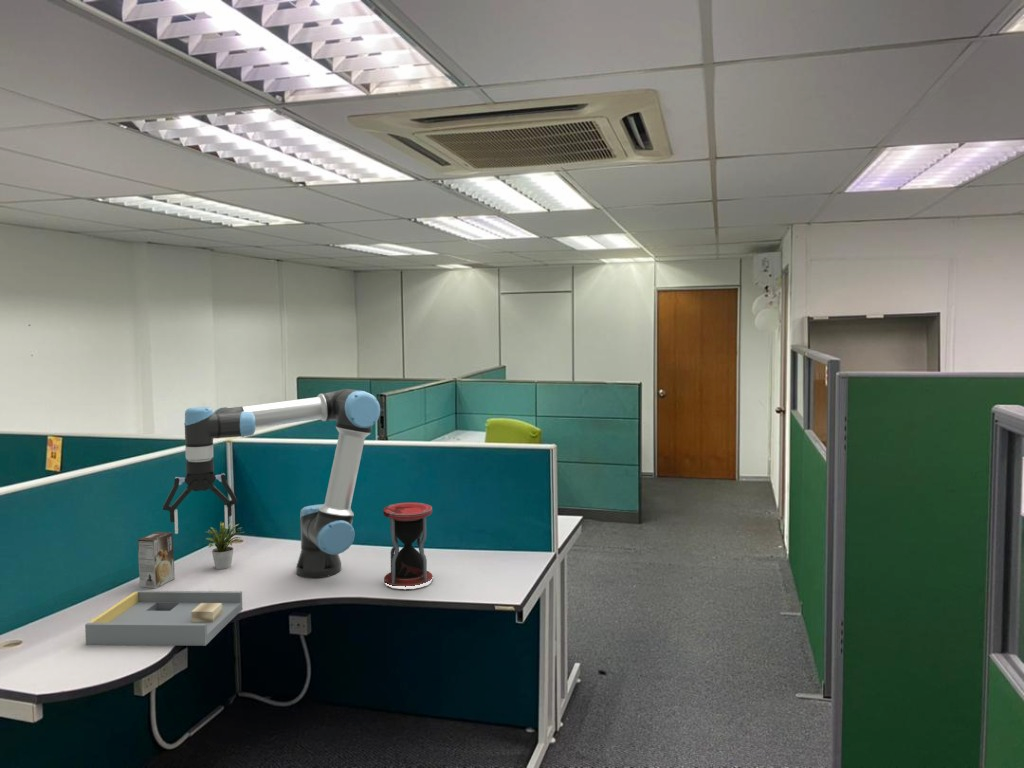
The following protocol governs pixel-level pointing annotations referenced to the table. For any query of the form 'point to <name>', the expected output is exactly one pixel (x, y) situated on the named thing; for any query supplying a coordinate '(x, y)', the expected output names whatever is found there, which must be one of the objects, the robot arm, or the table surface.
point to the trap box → (161, 619)
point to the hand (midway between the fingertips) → (201, 529)
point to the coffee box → (156, 559)
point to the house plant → (223, 546)
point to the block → (206, 612)
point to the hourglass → (408, 544)
